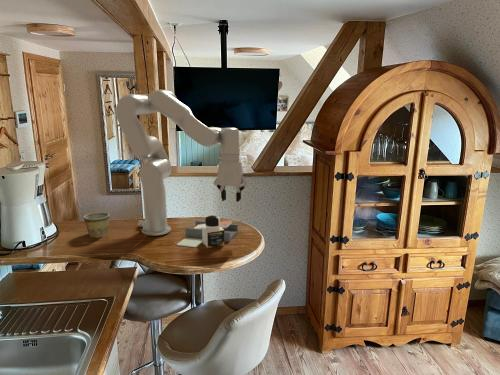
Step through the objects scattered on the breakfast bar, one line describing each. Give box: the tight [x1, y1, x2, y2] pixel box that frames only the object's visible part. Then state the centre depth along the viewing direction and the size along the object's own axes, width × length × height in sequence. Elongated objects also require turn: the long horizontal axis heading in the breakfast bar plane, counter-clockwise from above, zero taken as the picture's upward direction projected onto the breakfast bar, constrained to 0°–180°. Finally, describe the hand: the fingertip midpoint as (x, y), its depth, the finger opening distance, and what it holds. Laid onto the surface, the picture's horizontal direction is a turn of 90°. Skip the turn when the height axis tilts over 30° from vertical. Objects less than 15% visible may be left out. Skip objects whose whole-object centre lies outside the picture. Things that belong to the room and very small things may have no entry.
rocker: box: [194, 220, 233, 229], centre depth 161 cm, size 16×7×1 cm, turn 74°
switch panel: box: [184, 220, 239, 243], centre depth 161 cm, size 20×12×5 cm, turn 74°
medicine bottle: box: [201, 214, 225, 249], centre depth 150 cm, size 7×7×12 cm
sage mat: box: [176, 237, 203, 248], centre depth 152 cm, size 8×8×1 cm
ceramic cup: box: [83, 211, 110, 239], centre depth 158 cm, size 13×10×10 cm
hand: (231, 200), depth 156 cm, fingers open, 5 cm apart
